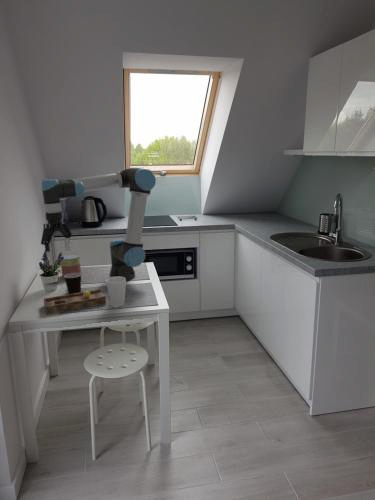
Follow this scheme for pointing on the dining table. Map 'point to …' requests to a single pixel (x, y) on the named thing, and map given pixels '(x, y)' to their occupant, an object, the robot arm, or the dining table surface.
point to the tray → (73, 301)
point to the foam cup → (116, 290)
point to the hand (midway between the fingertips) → (59, 253)
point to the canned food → (70, 264)
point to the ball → (86, 294)
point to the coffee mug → (73, 282)
